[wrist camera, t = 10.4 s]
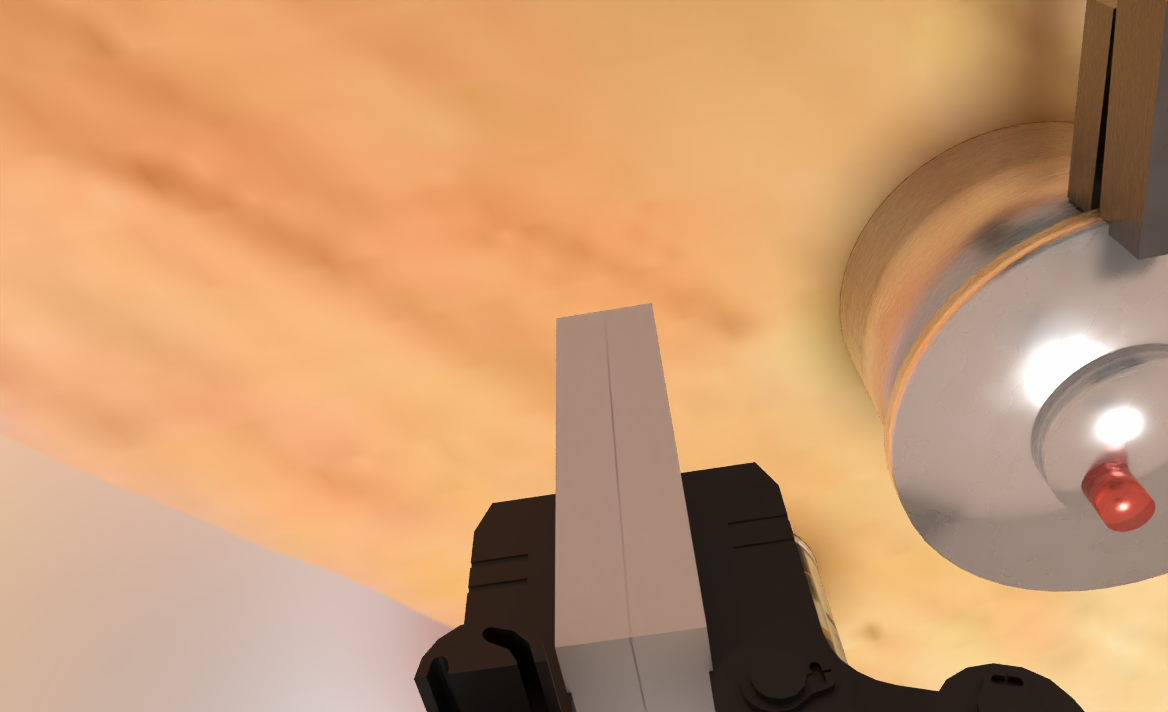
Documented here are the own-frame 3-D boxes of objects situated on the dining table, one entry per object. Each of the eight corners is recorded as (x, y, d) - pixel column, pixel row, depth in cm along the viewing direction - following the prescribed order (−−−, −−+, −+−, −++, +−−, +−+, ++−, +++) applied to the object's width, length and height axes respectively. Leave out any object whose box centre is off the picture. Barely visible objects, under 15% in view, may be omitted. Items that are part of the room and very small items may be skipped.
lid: (1303, 534, 46) (1378, 612, 42) (891, 599, 48) (924, 680, 44) (1463, -95, 32) (1602, -74, 27) (863, 29, 33) (908, 69, 29)
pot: (1153, 425, 57) (1270, 557, 47) (845, 470, 58) (900, 607, 49) (1242, -87, 42) (1437, -44, 33) (828, -13, 43) (902, 49, 34)
